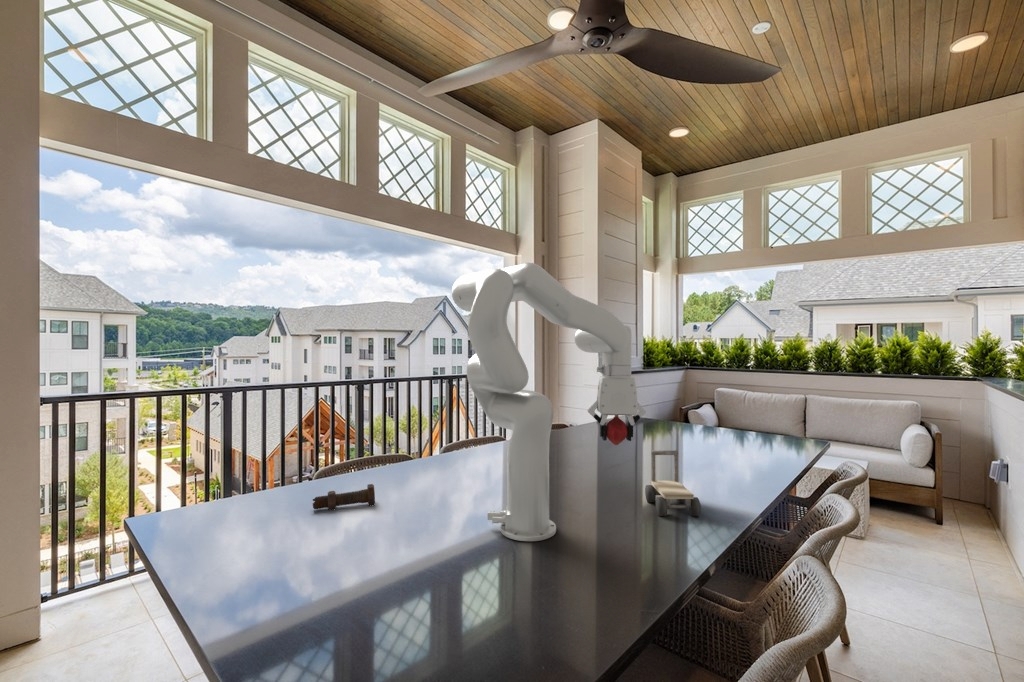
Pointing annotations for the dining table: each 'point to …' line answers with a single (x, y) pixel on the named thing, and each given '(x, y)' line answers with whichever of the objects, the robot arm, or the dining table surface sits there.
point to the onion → (616, 430)
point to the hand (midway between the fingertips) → (616, 439)
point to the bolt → (345, 498)
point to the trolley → (670, 490)
